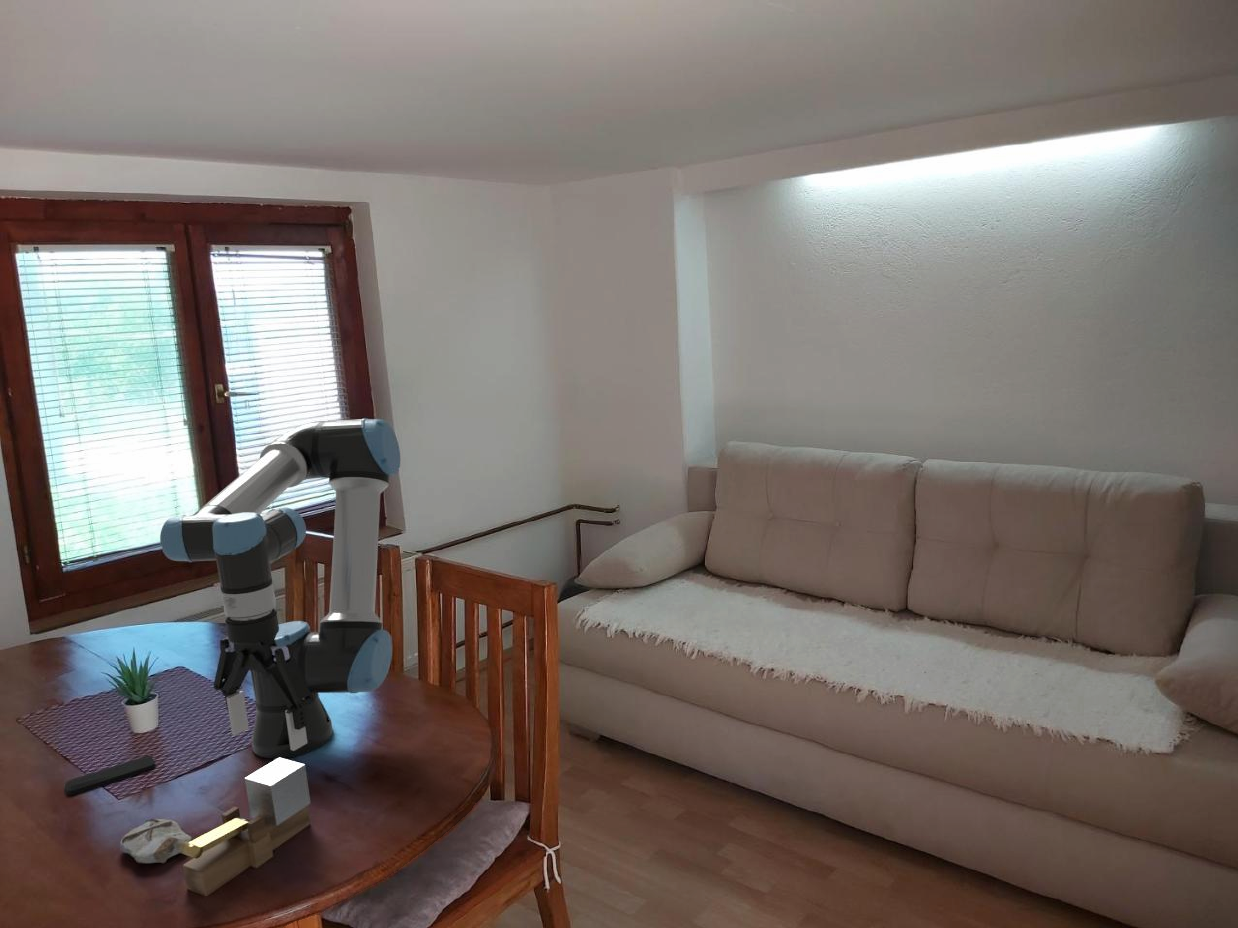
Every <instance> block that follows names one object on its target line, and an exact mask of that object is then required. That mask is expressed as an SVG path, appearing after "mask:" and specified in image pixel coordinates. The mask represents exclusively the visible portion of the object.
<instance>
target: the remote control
mask: <svg viewBox="0 0 1238 928" xmlns="http://www.w3.org/2000/svg"><path fill="white" fill-rule="evenodd" d="M156 768H157V765H156V762H155V760H154V758H153V755H146V756H143V757H142V756H141V757H139V758H136V759H135V758H134V759H133V760H129V761H126V762H123V763H120V764H117V765H116V764H115V765H113V766H110V767H108V768H104V769H101V770H98V771H94V772H92V773H88V774H84V775H81V776H78V777H74V778H72V779H69V780H66V782H65V783H64V785H65V786H64V787H65V793H66V796H67V797H72V796H76V795H78V794H81V793H84V792H87V791H90V790H94V789H97V788H99V787H102V786H105V785H106V786H107V785H109V784H112V783H115V782H118V781H121V780H124V779H128V778H130V777H133V776H136V775H139V774H142V773H143V774H144V773H145V772H148V771H149V772H150V771H151V770H154V769H156Z"/></svg>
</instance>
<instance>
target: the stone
mask: <svg viewBox="0 0 1238 928" xmlns="http://www.w3.org/2000/svg"><path fill="white" fill-rule="evenodd" d="M192 839H193V838H192V836H191V835H189V834H187V833H186V832H185V831H183V830H182V829H181V827H180V826H179V824H178V823H177V822H176V821H175V820H171V819H165V818H163V819H162V818H160V819H159V818H150V819H148V820H145V822H144V823H143V824H141V825H140V826H138V827H135V828H132V829H131V830H130V831H128V832H127V833H126V834H125V835H124V836H123V837H122V838H121V840H120V844H119V847H120V848H119V849H120V851H121V852H122V853H124V854H129V855H130V856H131V857H133V859H134V860H135V861H136V863H138V864H155V863H157V864H158V863H161V864H165V863H166V862H167V861H168V859H170V858H172V857H174V856H176V855H178V854H181V853H180V852H179V847H180V845H181V844H182V843H184V842H188V843H189V842H191V841H192Z"/></svg>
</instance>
